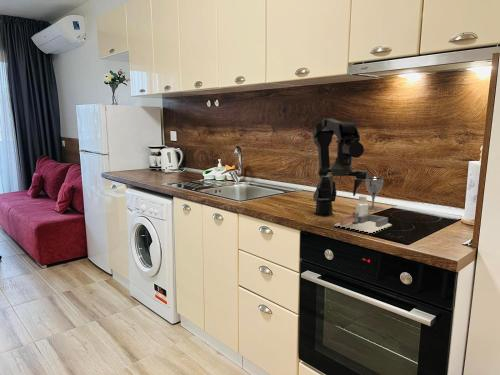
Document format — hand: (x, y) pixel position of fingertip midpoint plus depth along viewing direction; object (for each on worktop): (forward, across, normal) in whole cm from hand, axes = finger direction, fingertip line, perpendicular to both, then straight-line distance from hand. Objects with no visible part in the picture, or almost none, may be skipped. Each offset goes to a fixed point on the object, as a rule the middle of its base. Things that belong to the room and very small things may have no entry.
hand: (342, 194), depth 145 cm
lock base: (+13, +8, +5) cm, 16 cm away
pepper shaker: (+13, +4, +18) cm, 23 cm away
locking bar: (+12, +3, 0) cm, 13 cm away
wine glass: (+13, +4, +39) cm, 41 cm away
